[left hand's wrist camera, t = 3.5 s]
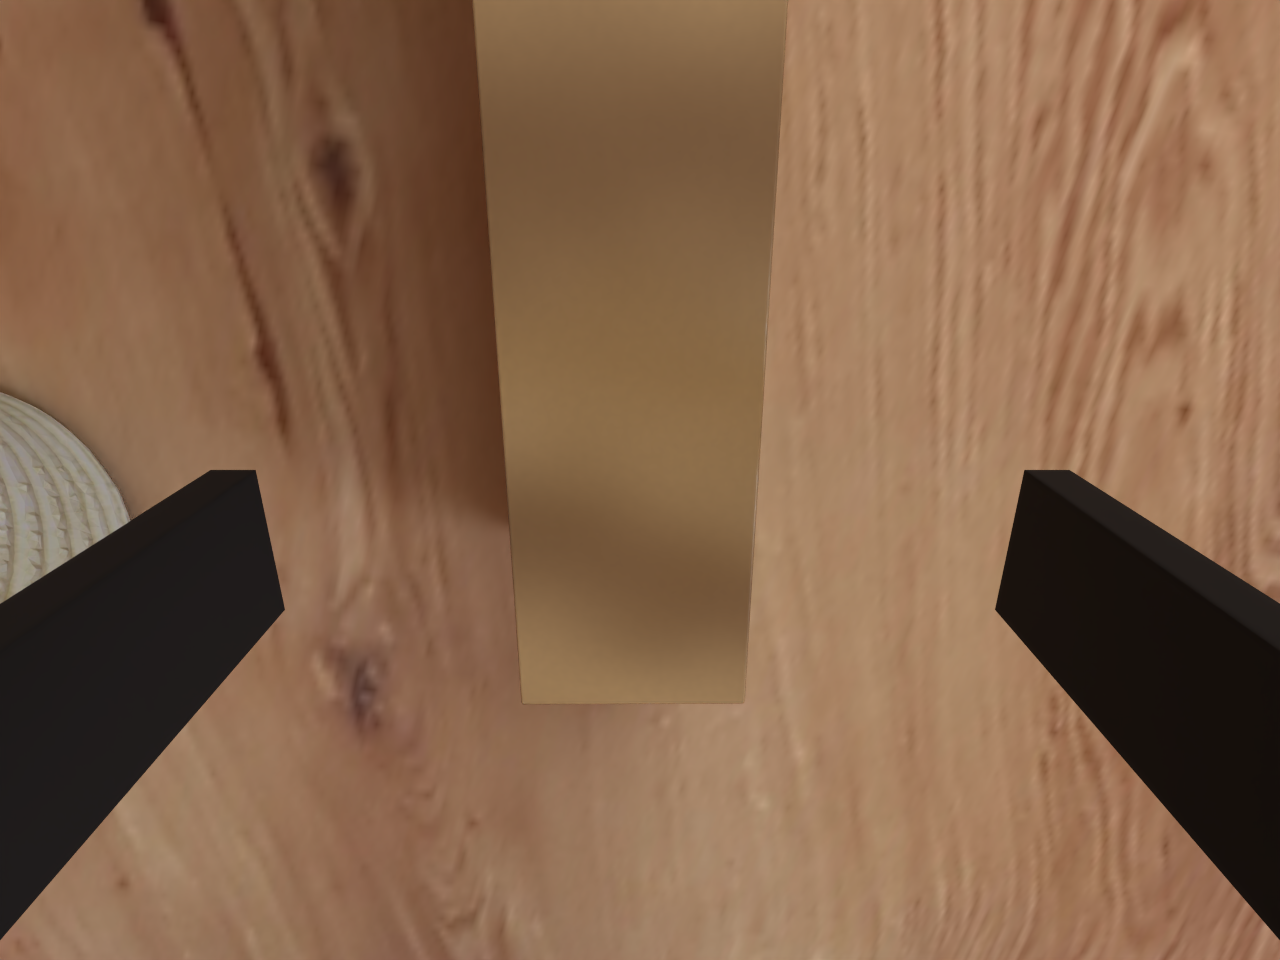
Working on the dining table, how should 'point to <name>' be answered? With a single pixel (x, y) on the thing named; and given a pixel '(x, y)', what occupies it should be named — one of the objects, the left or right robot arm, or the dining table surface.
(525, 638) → the post
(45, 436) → the seashell
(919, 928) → the dining table surface
